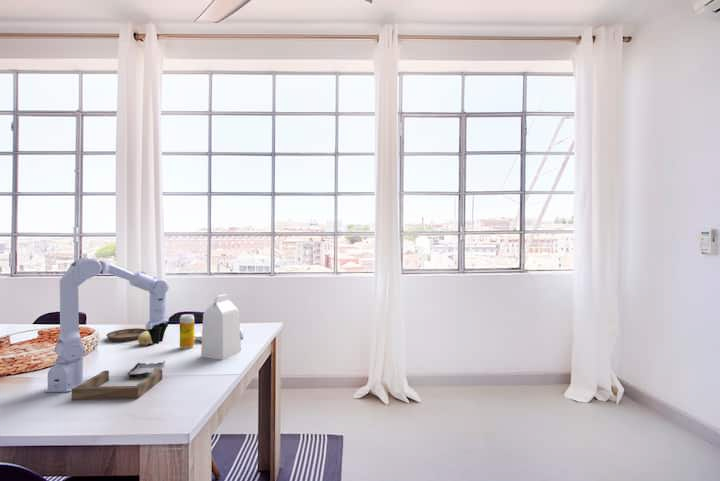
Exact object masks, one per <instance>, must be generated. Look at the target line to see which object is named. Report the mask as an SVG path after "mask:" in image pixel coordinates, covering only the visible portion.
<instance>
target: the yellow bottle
mask: <svg viewBox="0 0 720 481" xmlns="http://www.w3.org/2000/svg"><path fill="white" fill-rule="evenodd" d="M194 334H195V316H194V314H192V313H191V314H190V313H188V314H186V313H185V314H182V315H180V317H179V347H180V349H181V350H187V349H188V350H189V349H192V348H194V346H195V337H194Z"/></svg>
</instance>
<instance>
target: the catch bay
mask: <svg viewBox="0 0 720 481" xmlns="http://www.w3.org/2000/svg"><path fill="white" fill-rule="evenodd" d="M152 373H153V372H152ZM109 378H110V372H109V370H103V371H101V372H100V373H98V374H96V375H94V376H93V377H90V378H88V379H89V380H87V381H85V382H83V383H82V384H80V385H78V386H76V387H75V388H73V389H72V390H71V401H89V400H90V401H93V400H94V401H95V400H100V401H101V400H129V399H130V400H134V399H136V400H137V399H140V397H142V396H143V395H144V394H146V393H147V392H148V391H149V390H151V389H152V388H153V387H154V386H156V385H157V384H158V383H159V382H161V381H162V380H163V369H160V370H157V371H155V372H154V373H153V374H151V375H150V376H149V377H147V378H143V379H142V381H140V382H139V383H137V384H136V385H114V386H113V385H109V386H108V385H107V386H106V385H105V386H102V385H104V384H106V383H107V382H108V381H109V380H110V379H109Z"/></svg>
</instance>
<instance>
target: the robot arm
mask: <svg viewBox="0 0 720 481" xmlns="http://www.w3.org/2000/svg"><path fill="white" fill-rule="evenodd" d="M146 273H147V272H145V271H143V270H142V271H136V272H131V271H129V270H126V269H124V268H123V267H120V266H117V265H115V264H114V263H111V262H107V261H102V260H98V259H95V258H88V257H81V258H80V257H79V259H77V260H75V261H74V262H72V263H70V265H69V267H68V269H67V270H66V272H65V273H63V276H62V277H61V278H60V280H59V334H58V338H57V342H56V344H55V346H54V352H55V354H56V355H58V356H57V358H56V359H55V363H54V365H53V366H52V367H50V369H49V370H48V372H47V389H46V390H44V392H45V393H60V392H61V393H65V392H67V393H68V392H72V389H73V388H75V387H76V386H78V385H80V384H82V383H83V382H85V381H87V380H89V379H90V378H84V371H83V370H84V365H83V364H84V356H83V355H84V353H85V346H84V344H83V343H82V337H81V334H80V322H79V321H80V318H79V316H80V315H79V314H80V313H79V307H80V306H79V286H81V285H82V284H83V283H85V281H87V280H90V279H91V278H94V277H96V276H98V275H99V274H100V275H107V274H109V275H111V276H115V277H118V278H121V279H124V280H126V281H128V282H129V284H130V286H133V287H135V288H138V289H140V290H144V291H146V292H148V293H149V320H148V321H147V323H146V324H145V329H146V330H147V331H148V332H149V334H150V336H151V339H152V343H153V344H152V345H157V344H158V345H159V343H162V342H163V341H164V340H163V339H164V336H165V333H166V330H167V328H168V326H169V323H168V322H169V321H170V320H169V318H170V317H169V315H167V314H166V312H167V310H166V309H167V308H166V307H167V306H166V305H167V301H166V300H167V299H166V298H167V297H166V296H167V292H168V290H169V286H168V283H167V282H166V281H165V280H162V279H158V277H157V276H151V275H148V274H146Z"/></svg>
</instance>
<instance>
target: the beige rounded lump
mask: <svg viewBox="0 0 720 481" xmlns="http://www.w3.org/2000/svg"><path fill="white" fill-rule="evenodd" d="M137 341H138V342H137V343H138V344H139V345H140V346H142V347H143V346H149V344H150V345H154V344H153V343H152V339H151V336H150V334H149V332H148V331H145V332H142V333H141V334H140V335H139V336H138V339H137Z"/></svg>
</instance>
